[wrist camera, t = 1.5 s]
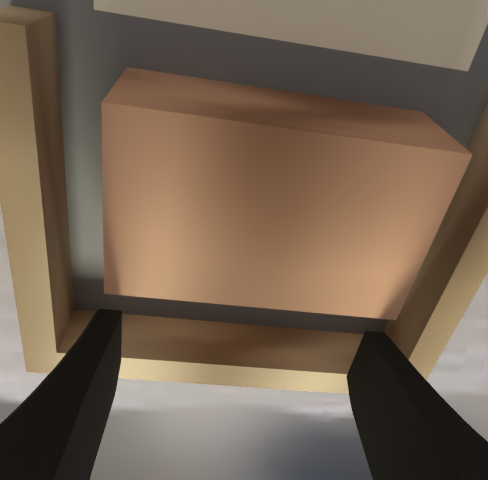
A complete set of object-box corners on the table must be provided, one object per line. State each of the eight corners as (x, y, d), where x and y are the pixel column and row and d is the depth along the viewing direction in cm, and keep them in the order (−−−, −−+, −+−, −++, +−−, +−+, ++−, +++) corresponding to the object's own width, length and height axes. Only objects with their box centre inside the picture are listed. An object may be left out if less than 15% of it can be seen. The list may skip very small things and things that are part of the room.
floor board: (676, -132, 10) (700, -136, 10) (422, 347, 19) (428, 358, 18) (-26, -299, 8) (-42, -315, 8) (43, 315, 17) (37, 327, 16)
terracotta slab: (422, 111, 12) (472, 154, 10) (367, 257, 15) (396, 320, 13) (127, 67, 12) (101, 102, 9) (124, 231, 14) (103, 293, 12)
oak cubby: (529, 89, 12) (578, 112, 11) (397, 355, 18) (415, 398, 16) (11, 5, 11) (-28, 17, 9) (46, 327, 16) (26, 371, 15)
